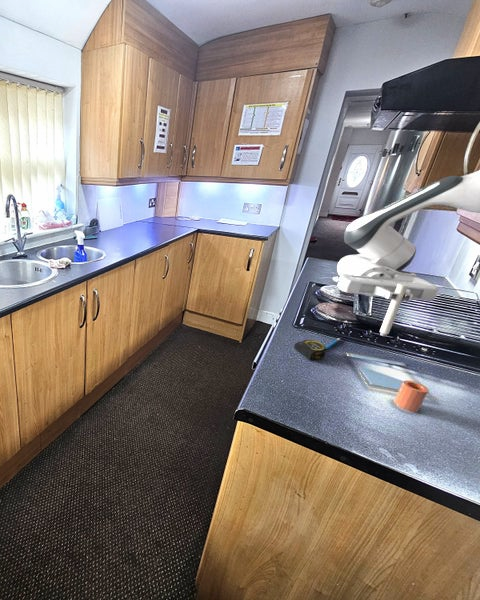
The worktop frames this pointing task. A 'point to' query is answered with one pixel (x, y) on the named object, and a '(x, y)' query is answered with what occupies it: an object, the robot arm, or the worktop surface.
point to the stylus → (393, 309)
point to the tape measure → (311, 349)
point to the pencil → (333, 343)
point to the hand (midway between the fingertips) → (400, 297)
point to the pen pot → (411, 396)
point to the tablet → (381, 376)
